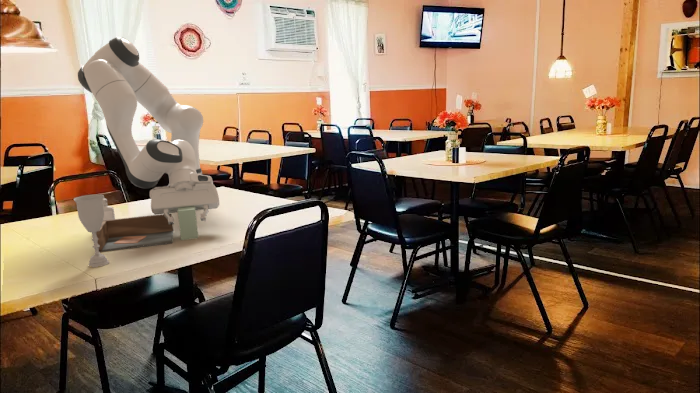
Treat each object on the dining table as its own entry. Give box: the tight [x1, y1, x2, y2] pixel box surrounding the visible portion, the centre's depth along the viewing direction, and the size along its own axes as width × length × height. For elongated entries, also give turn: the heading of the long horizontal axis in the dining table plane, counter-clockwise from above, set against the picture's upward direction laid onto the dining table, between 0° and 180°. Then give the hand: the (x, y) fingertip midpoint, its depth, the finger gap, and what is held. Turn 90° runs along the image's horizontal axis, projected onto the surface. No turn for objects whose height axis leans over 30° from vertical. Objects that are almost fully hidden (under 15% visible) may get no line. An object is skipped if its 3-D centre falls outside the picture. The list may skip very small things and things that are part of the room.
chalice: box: [73, 193, 110, 268], centre depth 135 cm, size 7×7×18 cm
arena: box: [96, 213, 174, 253], centre depth 157 cm, size 14×20×6 cm
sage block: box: [177, 206, 199, 241], centre depth 159 cm, size 5×5×9 cm
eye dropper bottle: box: [102, 196, 116, 220], centre depth 170 cm, size 4×6×12 cm
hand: (187, 221), depth 158 cm, fingers open, 8 cm apart
